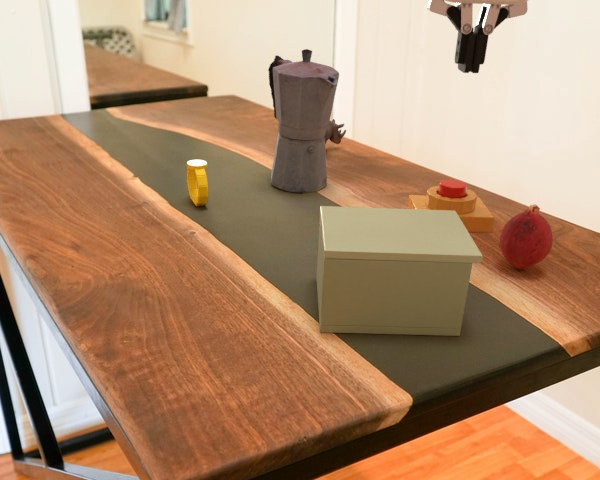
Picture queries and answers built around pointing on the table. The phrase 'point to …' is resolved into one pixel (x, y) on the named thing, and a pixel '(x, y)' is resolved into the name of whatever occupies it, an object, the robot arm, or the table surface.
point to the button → (452, 189)
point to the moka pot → (301, 121)
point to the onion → (526, 239)
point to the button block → (456, 208)
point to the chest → (390, 295)
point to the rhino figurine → (334, 132)
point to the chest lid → (396, 235)
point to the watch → (197, 181)
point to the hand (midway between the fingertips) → (467, 70)
